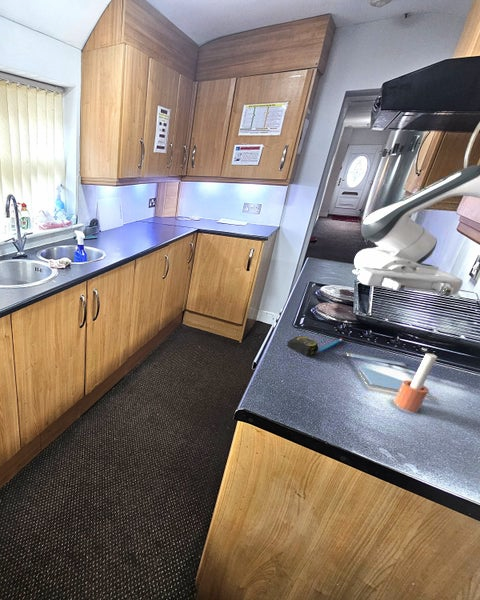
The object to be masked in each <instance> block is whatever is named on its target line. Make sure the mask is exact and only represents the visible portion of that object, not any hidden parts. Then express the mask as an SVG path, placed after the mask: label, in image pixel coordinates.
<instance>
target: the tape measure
mask: <svg viewBox="0 0 480 600" xmlns="http://www.w3.org/2000/svg"><path fill="white" fill-rule="evenodd" d="M286 346H287V348H289V349H290V350H292V351H295V352H297V353H299V354H301V355H302V356H305V357H310V356H311V355H315V353H316V352H319V345H318V342H317V341H316V340H314V339H312V338H310V337H307V336H301V335H300V336H294V337H293V338H292V339H289V340H288V341H287V343H286Z"/></svg>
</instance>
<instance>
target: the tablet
mask: <svg viewBox="0 0 480 600" xmlns="http://www.w3.org/2000/svg"><path fill="white" fill-rule="evenodd" d="M344 354H345V356H346V357H351V358H357V359H363V360H369V361H374V362H378V363H379V362H380V363H386V364H392V365H397V366H403V367H407V365H406V364H405V363H404V362H403V361H402V362H401V361H397V360H396V361H395V360H391V359H385V358H379V357H374V356H368V355H363V354H357V353H353V352H345V353H344ZM358 367H359V368H360V369H357V371H358V373H359V375H360V377H361V378H362V380H363V381H364V383H365V385H366V386H367V387H368V388H371V389H378V390H383V391H388V392H394V393H398V391H399V389H400V387H401V385H402V383H403V381H404V380H402V379H399V378H396V377H393V376H390V375H388V374H384V373H381V372H379V371H376V370H373V369H370V368H367V367H364V366H361V365H358ZM425 399H429V400H435V401H439V399H438V398H437V397H436V396H433V395H431V394H430V393H429V392H428V394H427V396H426V398H425Z"/></svg>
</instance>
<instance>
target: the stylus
mask: <svg viewBox="0 0 480 600" xmlns="http://www.w3.org/2000/svg"><path fill="white" fill-rule="evenodd" d="M437 358H438V356H437V355H435V354H433V353H428V352H426V353H425V355H424V357H423V359H422V361H421V363H420V365H419V367H418V369H417V371H416V373H415V374H414V376H413V379H412V380H411V381H412V383H411V385H410V387H412V388H414V389H418V390H421V388H422V386H424V384H425V382H426V380H427V379H428V376H429V375H430V372H431V370H432V368H433V366H434V365H435V362H436V360H437Z"/></svg>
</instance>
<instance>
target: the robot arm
mask: <svg viewBox="0 0 480 600" xmlns="http://www.w3.org/2000/svg"><path fill="white" fill-rule="evenodd" d="M461 196H462V197H463V196H464V197H471V198H472V197H473V198H477V199H480V165H478V164H477V165H476V164H473V165H470V166H467V167H464V168H462V169H459V170H457V171H455V172H453V173H450V174H448V175H447V176H444V177H443V178H441V179H439V180H436V181H434V182H433V183H430V184H429V185H427V186H425V187H423V188H421V189H419V190H416V191H415V192H413V193H411V194H409V195H407V196H405V197H404V198H401V199H398V200H397V201H395V202H393V203H391V204H388V205H386V206H383V207H381V208H377V209H376V210H374V211H372V212H371V213H369V214H368V215H367V216H366V217H364V218H363V220H362V222H361V228H360V231H361V232H360V234H361V236H362V237H363V238H365V239H366V240H368V241H370V242H371V243H374V244H375V245H377V246H376V247H367V248H363V249H361V250H359V251H358V252H357V253H356V255H355V257H354V259H353V264H354V268H355V269H352V271H351V272H352V274H354V275H356V276H357V277H356V279H357V281H358V282H359V283H360V284H362V285H365V286H368V287H376V288H377V287H378V288H382V289H385V290H387V291H388V290H389V291H400V292H401V291H404V290H408V291H417V292H418V291H419V292H428V293H437V294H441V295H443V296H453V295H457V294H458V292H459V291H460V290H461V288H462V286H463V283H464V281H463V280H462V279H461V278H459V277H457V276H455V275H453V274H451V273H449V272H447V271H445V270H440V268H439V266H437V265H433V264H428V263H424V262H425V261H426V260H427V259H429V258H430V257H431V256H432V254H433V253H434V251H435V249H436V248H437V242H438V240H437V237H436V236H434V235H433V234H432V233H431V232H430V231H428V230H427V229H425V228H424V227H422V226H421V225H420V224H418V222H416V221H415V220H414V219H412V218H411V217H410V216H412V215H414V214H416V213H418V212H420V211H422V210H425V209H427V208H429V207H431V206H433V205H435V204H437V203H439V202H441V201H444V200H446V199H448V198H453V197H461Z"/></svg>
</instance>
